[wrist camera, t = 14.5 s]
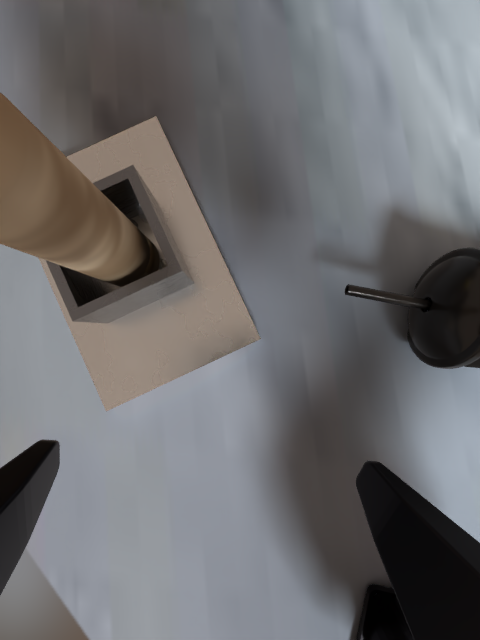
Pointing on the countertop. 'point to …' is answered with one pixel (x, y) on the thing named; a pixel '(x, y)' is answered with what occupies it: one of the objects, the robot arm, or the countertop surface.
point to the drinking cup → (441, 310)
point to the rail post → (63, 209)
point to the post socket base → (151, 276)
